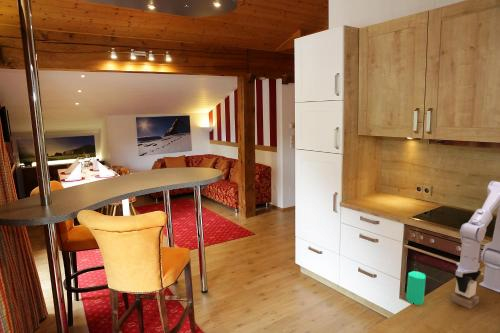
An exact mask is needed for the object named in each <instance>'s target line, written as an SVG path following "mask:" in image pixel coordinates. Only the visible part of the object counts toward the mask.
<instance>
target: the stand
mask: <svg viewBox="0 0 500 333" xmlns="http://www.w3.org/2000/svg"><path fill="white" fill-rule="evenodd" d="M449 301H450V302H453V303H456V304H457V305H460V306H462V307H464V308H467V309H469V310H470V309H472V308H474V307H475V306H478V304H479V303H480V297H479V296H477V295H476V294H475V295H473V296H471V297H470V298H468V297H466V296H463V295H461V294H458V293H456V292H455V291H454V292H453V293H451V294H450V299H449Z"/></svg>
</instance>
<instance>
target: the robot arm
mask: <svg viewBox="0 0 500 333" xmlns="http://www.w3.org/2000/svg"><path fill="white" fill-rule="evenodd" d="M486 192H487V197H486V199H485V201H484V202H483V205H482V206H481V208H477V209H476V210H475V211H474V213H473V214H472V216H471V217H470V219H469V220H468V222H465V223H463V224H462V225H461V227H460V229H459V236H460V243H461V249H460V259H459V261H458V262H456V263H455V265H456V266H457V269H456V270H455V271H454V272H453V275H454V278H455V281H456V280H457V283H458V289H459V291H461V292H463V293H465V292H466V290H467V287H468V284H469V281H470V280H474V281H477V279H478V278H479V276H480V275H481V273H482V271H481V270H479V269H480V266H481V263H480V262H479V261H480V260H479V259H481V261H482V262H483V265H485V267H484V272H483V273H484V274H483V281H481V282H480V283H478V285H479V286H481V287H483V288H486V289H489V290H492V291H495V292H497V293H500V181H496V180H491V181H490V182H489V183H488V185H487V188H486ZM497 208H498V209H497ZM496 209H497V214H496V220H495V225H494V230H493V234H492V241H491V242H488V243H485V244H484V246H483V250H482V251H481V242H482V241H483V240H484V238H485V235H486V232H487V227H488V226H489V224H490V223H491V221H492V220H493V213H494V212H495V210H496ZM480 251H481V255H480Z"/></svg>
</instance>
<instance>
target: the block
mask: <svg viewBox="0 0 500 333" xmlns="http://www.w3.org/2000/svg"><path fill="white" fill-rule="evenodd" d="M477 282H478V281H477V280H476V281H474V280H470V281H469V284H468V287H467V290H466V292H465V293H463V292H461V291H459V289H458V283H457V280H456V279H455V290H454V292H456V293H458V294H461V295H463V296H466V297H468V298H470V297H471V296H473V295H475V296H476V293H477V292H476V291H477Z"/></svg>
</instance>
